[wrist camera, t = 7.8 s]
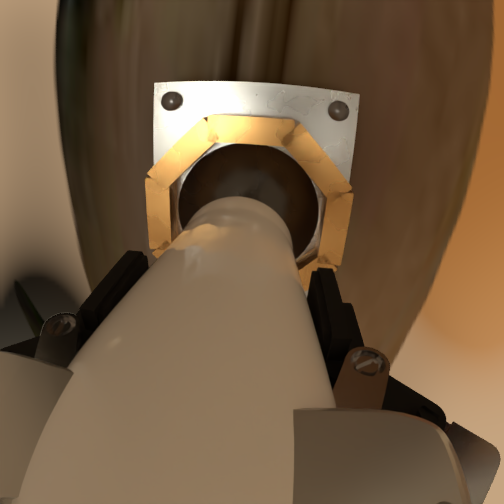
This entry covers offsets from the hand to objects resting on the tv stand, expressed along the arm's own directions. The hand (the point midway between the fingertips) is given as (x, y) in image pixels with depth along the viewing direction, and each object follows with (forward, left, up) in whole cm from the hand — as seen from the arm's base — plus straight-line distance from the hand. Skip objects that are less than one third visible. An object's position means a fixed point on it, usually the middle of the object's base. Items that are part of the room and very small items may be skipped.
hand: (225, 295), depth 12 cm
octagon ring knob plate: (0, 0, -13) cm, 13 cm away
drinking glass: (0, 0, -5) cm, 5 cm away
